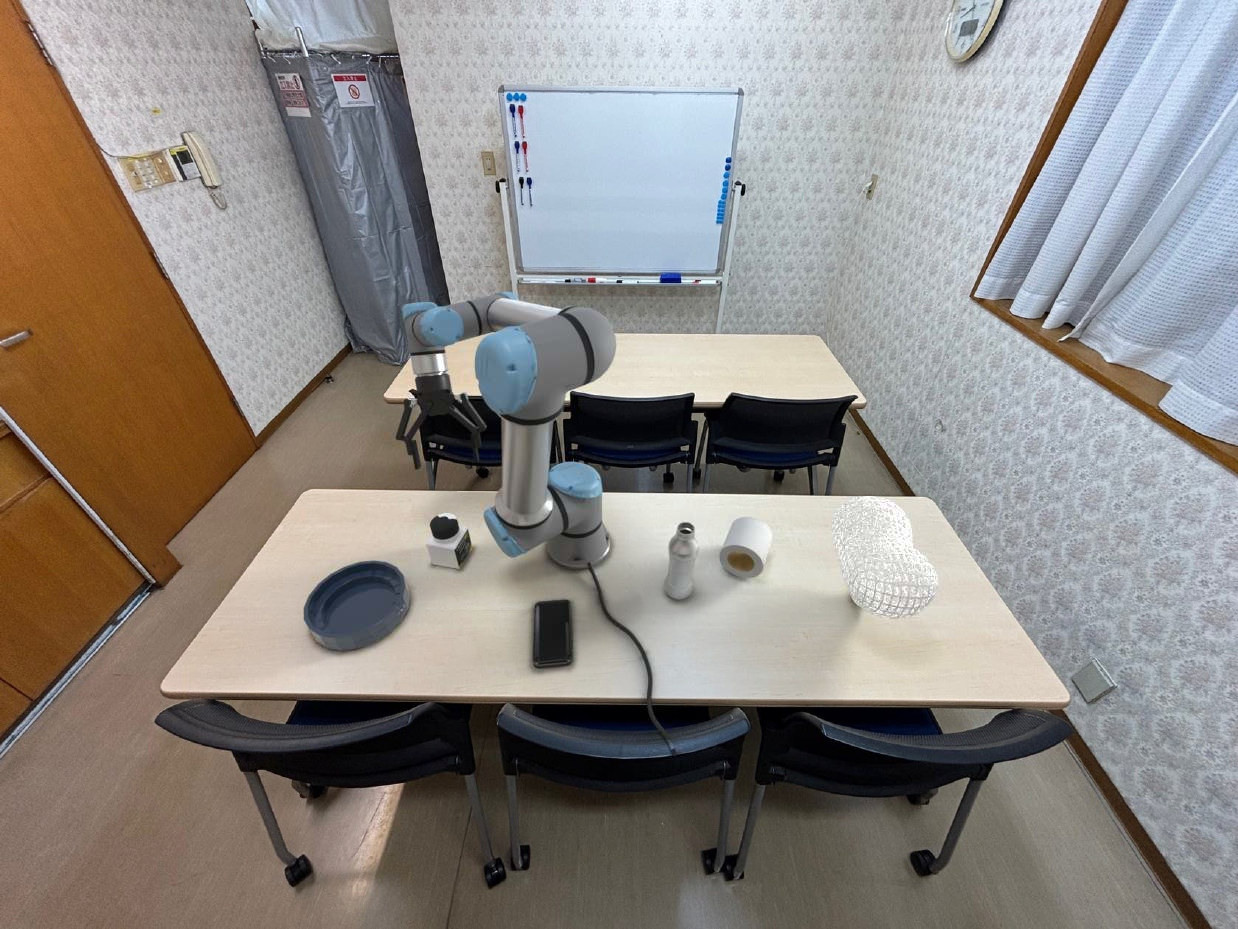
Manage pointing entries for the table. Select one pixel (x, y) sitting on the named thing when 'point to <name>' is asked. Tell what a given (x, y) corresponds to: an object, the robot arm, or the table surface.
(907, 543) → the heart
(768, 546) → the toilet paper
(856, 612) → the table surface
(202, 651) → the table surface
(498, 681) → the table surface
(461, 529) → the medicine bottle
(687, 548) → the plastic bottle
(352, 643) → the bowl
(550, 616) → the phone
